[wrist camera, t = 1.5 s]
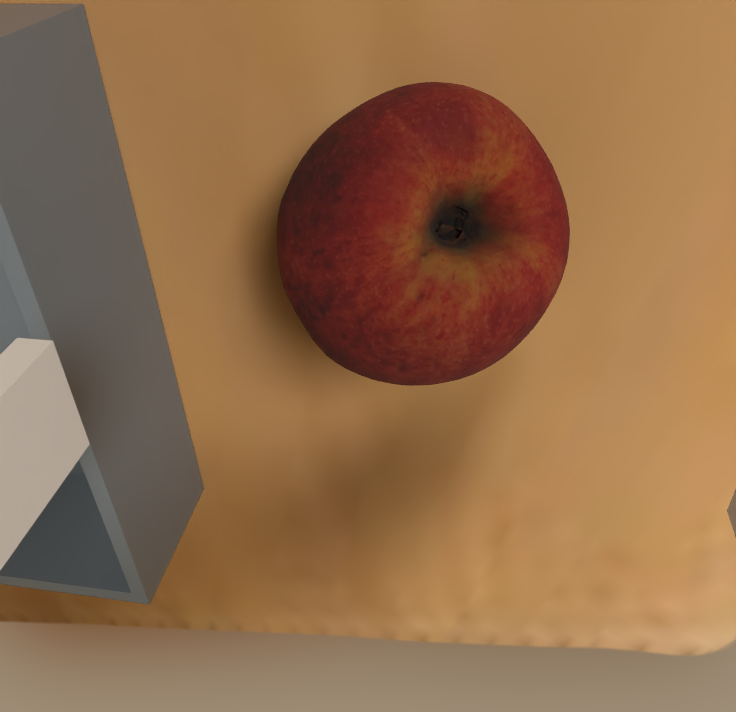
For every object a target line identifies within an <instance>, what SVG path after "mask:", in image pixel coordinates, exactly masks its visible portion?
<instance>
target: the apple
mask: <svg viewBox="0 0 736 712" xmlns="http://www.w3.org/2000/svg"><path fill="white" fill-rule="evenodd" d="M569 236H570V228H569V217H568V211H567V206H566V201H565V198H564V195H563V191H562V188H561V185H560V183H559V180H558V178H557V175H556V173H555V170H554V168H553V166H552V164H551V162H550V160H549V159H548V157H547V155H546V153H545V152H544V150H543V148H542V147H541V145H540V144H539V142H538V141H537V139H536V138H535V136H534V135H533V134H532V132H531V131H530V130H529V129H528V127H527V126H526V125H525V124H524V123H523V122H522V120H521V119H520V118H519V117H518V116H517V115H516V114H515V113H514V112H512V111H511V110H510V109H509V108H508V107H507V106H506V105H504V104H503V103H502V102H500V101H499V100H497V99H495V98H494V97H492V96H490V95H488V94H486V93H483V92H481V91H479V90H476V89H473V88H471V87H467V86H464V85H458V84H452V83H441V82H425V83H417V84H411V85H406V86H402V87H399V88H396V89H393V90H390V91H388V92H385V93H383V94H381V95H379V96H376V97H374V98H372V99H370V100H368V101H367V102H365V103H363V104H361V105H360V106H358V107H356V108H355V109H353V110H352V111H350V112H349V113H347V114H346V115H345V116H343V117H342V118H340V119H339V120H338V121H336V122H335V123H334V124H333V125H331V126H330V127H329V128H328V129H327V130H326V131H325V132H324V133H323V134H322V135H321V136H320V137H319V138H318V139H317V140H316V141H315V142H314V144H313V145H312V146H311V147H310V149H309V150H308V151H307V153H306V154H305V156H304V157H303V158H302V160H301V161H300V163H299V165H298V166H297V168H296V170H295V171H294V173H293V175H292V177H291V180H290V182H289V184H288V187H287V189H286V191H285V193H284V196H283V198H282V201H281V205H280V210H279V214H278V224H277V247H278V260H279V267H280V273H281V278H282V282H283V286H284V289H285V291H286V294H287V296H288V298H289V300H290V302H291V304H292V306H293V308H294V310H295V312H296V313H297V315H298V317H299V318H300V320H301V322H302V323H303V325H304V327H305V328H306V330H307V331H308V333H309V334H310V336H311V338H312V339H313V340H314V341H315V343H316V344H317V345H318V346H319V347H320V349H321V350H322V351H323V352H324V353H325V354H326V355H327V356H328V357H329V358H331V359H332V360H333V361H334V362H336V363H337V364H339V365H341V366H343V367H344V368H346V369H348V370H350V371H352V372H355V373H357V374H359V375H362V376H365V377H367V378H370V379H373V380H377V381H382V382H387V383H392V384H399V385H432V384H438V383H444V382H449V381H454V380H458V379H462V378H464V377H467V376H470V375H473V374H475V373H477V372H479V371H481V370H483V369H485V368H487V367H489V366H491V365H492V364H494V363H496V362H497V361H499V360H500V359H502V358H503V357H504V356H506V355H507V354H508V353H509V352H510V351H512V350H513V349H514V348H515V347H516V346H517V345H518V344H519V343H520V342H521V341H522V340H523V339H524V338H525V337H526V336H527V335H528V334H529V332H530V331H531V330H532V329H533V328H534V327H535V325H536V324H537V323H538V321H539V320H540V319H541V317H542V316H543V314H544V313H545V311H546V309H547V308H548V306H549V304H550V303H551V301H552V299H553V297H554V295H555V294H556V291H557V289H558V287H559V284H560V282H561V280H562V277H563V273H564V270H565V267H566V263H567V258H568V250H569Z"/></svg>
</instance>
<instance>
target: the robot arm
mask: <svg viewBox="0 0 736 712" xmlns="http://www.w3.org/2000/svg"><path fill="white" fill-rule="evenodd" d="M89 444H90V443H89V440H88V438H87V435H86V432H85V429H84V426H83V424H82V421H81V418H80V415H79V412H78V410H77V407H76V404H75V401H74V398H73V396H72V393H71V390H70V387H69V384H68V382H67V379H66V376H65V373H64V370H63V368H62V365H61V362H60V359H59V356H58V354H57V351H56V348H55V345H54V342H53V341H51V340H39V339H26V338H16V339H15V340H14V341H13V342H12V343H11V344H10V345H9V346H8V347H7V348H6V349H5V350H4V351H3V352H2V353H1V354H0V570H1V569H2V568H3V566H4V565H5V563H6V562H7V560H8V559H9V558H10V556H11V555H12V553H13V552H14V551H15V549H16V548H17V546H18V545H19V543H20V542H21V541H22V539H23V538H24V536H25V535H26V534H27V532H28V531H29V529H30V528H31V526H32V525H33V524H34V522H35V521H36V519H37V518H38V517H39V515H40V514H41V512H42V511H43V510H44V508H45V507H46V505H47V504H48V502H49V501H50V500H51V498H52V497H53V495H54V494H55V493H56V491H57V490H58V488H59V487H60V485H61V484H62V483H63V481H64V480H65V478H66V477H67V476H68V474H69V473H70V471H71V470H72V469H73V467H74V466H75V464H76V463H77V461H78V460H79V459H80V457H81V456H82V454H83V453H84V452H85V450H86V449H87V447H88V446H89ZM727 512H728V515H729V518H730V521H731V524H732V527H733V530H734V533H735V536H736V490H735V492H734V495H733V497H732V500H731V502H730V505H729V507H728V509H727Z"/></svg>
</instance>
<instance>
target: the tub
mask: <svg viewBox="0 0 736 712" xmlns="http://www.w3.org/2000/svg"><path fill="white" fill-rule="evenodd" d="M16 338H26V339H39V340H51V341H53V342H54V345H55V348H56V351H57V354H58V356H59V359H60V362H61V365H62V368H63V370H64V373H65V376H66V379H67V382H68V384H69V387H70V390H71V393H72V396H73V398H74V401H75V404H76V407H77V410H78V412H79V415H80V418H81V421H82V424H83V426H84V429H85V432H86V435H87V438H88V440H89V443H90V444H89V446H88V447H87V449H86V450H85V452H84V453H83V454H82V456H81V457H80V459H79V460H78V461H77V463H76V464H75V466H74V467H73V469H72V470H71V471H70V473H69V474H68V476H67V477H66V478H65V480H64V481H63V483H62V484H61V485H60V487H59V488H58V490H57V491H56V493H55V494H54V495H53V497H52V498H51V500H50V501H49V502H48V504H47V505H46V507H45V508H44V510H43V511H42V512H41V514H40V515H39V517H38V518H37V519H36V521H35V522H34V524H33V525H32V526H31V528H30V529H29V531H28V532H27V534H26V535H25V536H24V538H23V539H22V541H21V542H20V543H19V545H18V546H17V548H16V549H15V551H14V552H13V553H12V555H11V556H10V558H9V559H8V560H7V562H6V563H5V565H4V566H3V568H2V569H1V570H0V584H4V585H11V586H18V587H26V588H33V589H40V590H48V591H55V592H62V593H70V594H77V595H84V596H92V597H99V598H106V599H113V600H121V601H128V602H135V603H143V604H150V603H151V600H152V598H153V596H154V594H155V592H156V590H157V588H158V585H159V583H160V581H161V579H162V577H163V575H164V573H165V570H166V568H167V566H168V564H169V562H170V560H171V558H172V555H173V553H174V551H175V549H176V547H177V545H178V543H179V541H180V538H181V536H182V534H183V532H184V530H185V528H186V526H187V523H188V521H189V519H190V517H191V515H192V513H193V511H194V508H195V506H196V504H197V502H198V500H199V498H200V496H201V493H202V491H203V489H204V488H203V484H202V480H201V476H200V472H199V468H198V464H197V460H196V456H195V452H194V448H193V444H192V440H191V436H190V432H189V428H188V424H187V420H186V416H185V412H184V408H183V404H182V399H181V395H180V391H179V387H178V383H177V379H176V375H175V371H174V367H173V363H172V359H171V355H170V351H169V347H168V343H167V339H166V335H165V331H164V327H163V323H162V319H161V315H160V311H159V307H158V303H157V299H156V295H155V291H154V287H153V283H152V279H151V275H150V271H149V267H148V263H147V259H146V255H145V251H144V247H143V243H142V238H141V234H140V230H139V226H138V222H137V218H136V214H135V210H134V206H133V202H132V198H131V194H130V190H129V186H128V182H127V178H126V174H125V170H124V166H123V162H122V158H121V154H120V150H119V146H118V142H117V138H116V134H115V130H114V126H113V122H112V118H111V114H110V110H109V106H108V102H107V98H106V94H105V90H104V86H103V82H102V77H101V73H100V69H99V65H98V61H97V57H96V53H95V49H94V45H93V41H92V37H91V33H90V29H89V25H88V21H87V17H86V13H85V9H84V5H83V4H0V354H1V353H2V352H3V351H4V350H5V349H6V348H7V347H8V346H9V345H10V344H11V343H12V342H13V341H14V340H15V339H16Z"/></svg>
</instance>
